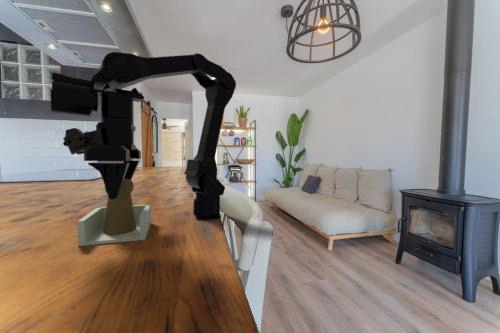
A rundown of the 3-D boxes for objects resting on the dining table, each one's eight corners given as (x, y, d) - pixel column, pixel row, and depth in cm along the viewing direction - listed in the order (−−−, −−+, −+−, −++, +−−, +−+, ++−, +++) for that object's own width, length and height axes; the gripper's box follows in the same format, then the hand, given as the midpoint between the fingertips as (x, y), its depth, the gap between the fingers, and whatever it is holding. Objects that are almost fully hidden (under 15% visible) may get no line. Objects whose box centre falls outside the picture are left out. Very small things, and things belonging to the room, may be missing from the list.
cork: (97, 235, 43) (96, 180, 42) (111, 225, 49) (110, 176, 48) (130, 234, 44) (129, 180, 43) (140, 224, 50) (139, 176, 49)
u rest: (151, 222, 54) (150, 204, 53) (145, 239, 43) (145, 216, 43) (98, 226, 50) (98, 207, 50) (78, 246, 40) (77, 221, 39)
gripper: (88, 123, 51) (89, 189, 52) (43, 107, 34) (46, 207, 35) (141, 125, 55) (141, 187, 56) (124, 112, 37) (125, 203, 38)
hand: (118, 194), depth 46 cm, fingers open, 9 cm apart
